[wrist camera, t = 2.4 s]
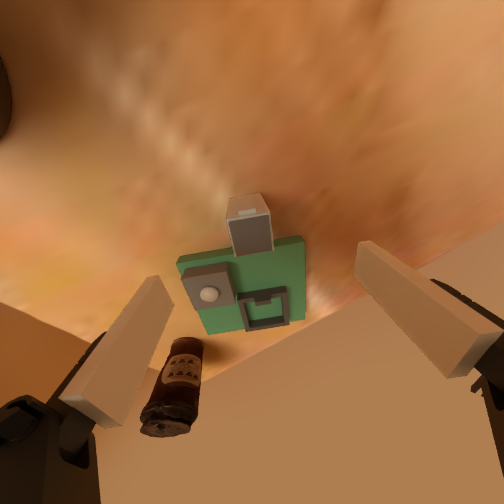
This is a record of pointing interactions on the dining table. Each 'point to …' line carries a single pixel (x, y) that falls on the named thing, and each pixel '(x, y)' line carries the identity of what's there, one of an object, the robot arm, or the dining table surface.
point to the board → (247, 286)
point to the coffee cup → (175, 392)
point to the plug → (249, 225)
